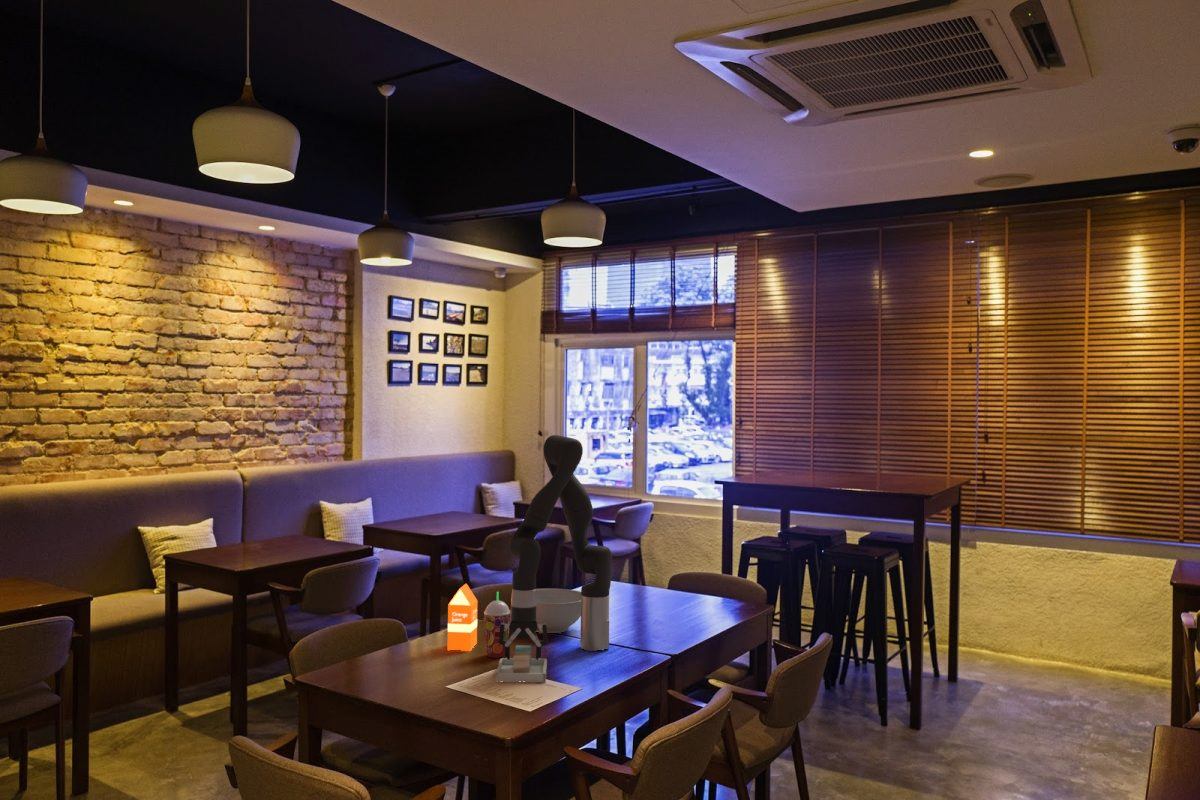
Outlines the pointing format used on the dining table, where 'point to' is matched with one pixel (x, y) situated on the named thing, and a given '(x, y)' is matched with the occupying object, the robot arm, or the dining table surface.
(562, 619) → the decorative bowl
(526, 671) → the beech block
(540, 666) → the tray
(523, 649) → the teal block
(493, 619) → the smoothie
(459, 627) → the orange juice
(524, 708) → the dining table surface
